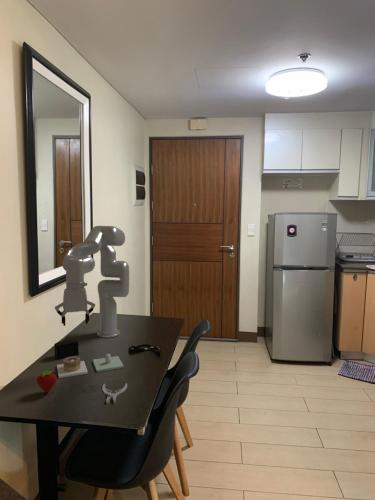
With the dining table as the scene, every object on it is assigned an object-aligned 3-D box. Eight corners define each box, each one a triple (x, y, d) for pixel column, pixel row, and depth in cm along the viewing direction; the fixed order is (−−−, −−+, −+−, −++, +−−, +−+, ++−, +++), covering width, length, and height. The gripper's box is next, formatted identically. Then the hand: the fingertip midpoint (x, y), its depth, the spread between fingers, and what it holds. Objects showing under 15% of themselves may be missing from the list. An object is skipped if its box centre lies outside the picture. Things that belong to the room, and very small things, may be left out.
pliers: (127, 381, 154) (124, 400, 139) (127, 384, 154) (124, 404, 139) (103, 381, 153) (97, 400, 138) (103, 385, 153) (97, 404, 138)
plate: (92, 361, 175) (92, 351, 174) (118, 357, 180) (118, 347, 179) (96, 372, 164) (96, 361, 164) (123, 368, 169) (123, 357, 168)
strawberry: (54, 396, 143) (54, 371, 142) (34, 396, 143) (34, 371, 142) (59, 388, 149) (58, 364, 148) (40, 388, 149) (39, 365, 147)
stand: (57, 366, 169) (56, 357, 168) (84, 362, 174) (83, 353, 173) (58, 378, 158) (58, 368, 157) (87, 373, 163) (87, 363, 162)
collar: (63, 366, 168) (62, 357, 167) (79, 363, 170) (79, 355, 170) (64, 372, 161) (64, 363, 161) (81, 370, 164) (80, 361, 163)
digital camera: (75, 351, 187) (74, 338, 186) (78, 355, 183) (78, 341, 182) (54, 356, 181) (53, 342, 180) (57, 360, 176) (57, 346, 176)
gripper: (93, 283, 170) (93, 319, 172) (53, 285, 164) (54, 323, 165) (96, 286, 164) (96, 324, 165) (54, 288, 157) (55, 328, 158)
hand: (75, 323), depth 165 cm, fingers open, 9 cm apart
